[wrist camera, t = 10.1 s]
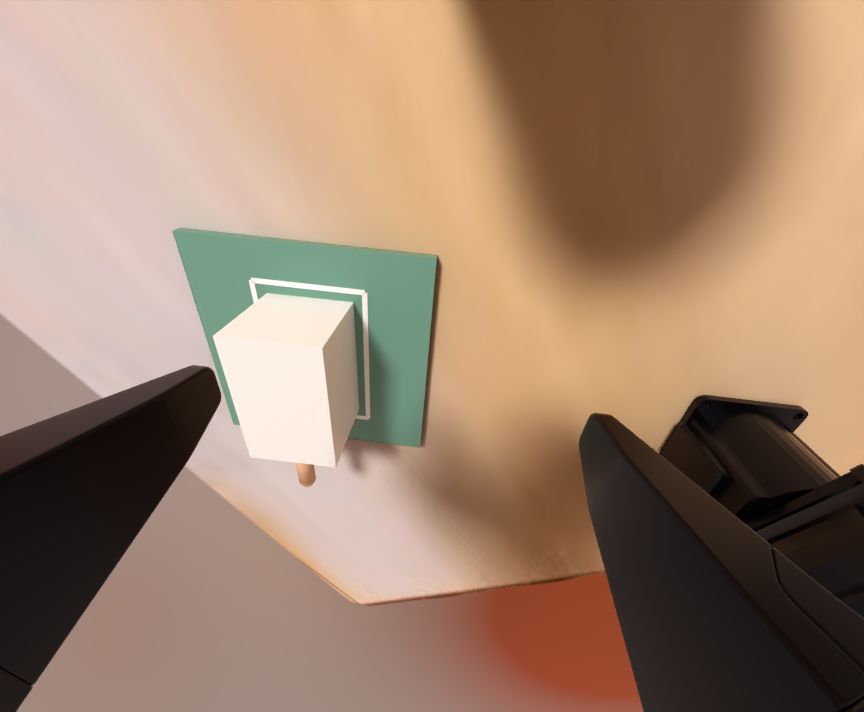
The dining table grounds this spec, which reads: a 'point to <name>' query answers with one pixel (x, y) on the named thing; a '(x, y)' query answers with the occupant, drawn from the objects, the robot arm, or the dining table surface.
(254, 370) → the block
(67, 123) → the dining table surface
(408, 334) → the pin board
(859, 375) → the dining table surface
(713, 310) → the dining table surface
